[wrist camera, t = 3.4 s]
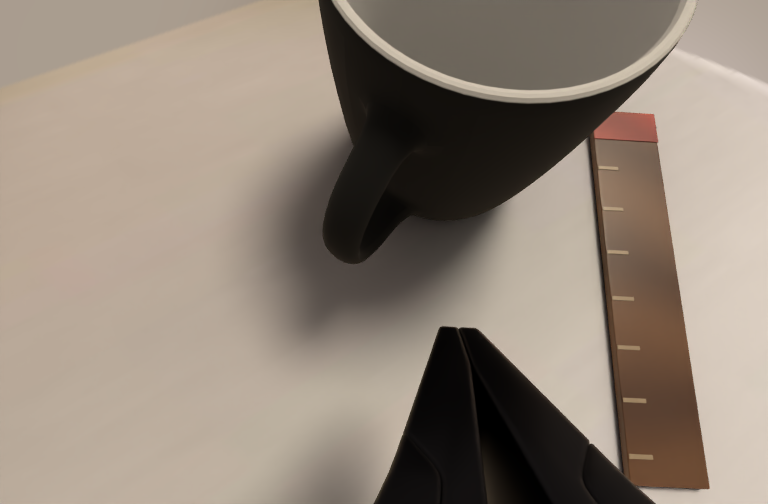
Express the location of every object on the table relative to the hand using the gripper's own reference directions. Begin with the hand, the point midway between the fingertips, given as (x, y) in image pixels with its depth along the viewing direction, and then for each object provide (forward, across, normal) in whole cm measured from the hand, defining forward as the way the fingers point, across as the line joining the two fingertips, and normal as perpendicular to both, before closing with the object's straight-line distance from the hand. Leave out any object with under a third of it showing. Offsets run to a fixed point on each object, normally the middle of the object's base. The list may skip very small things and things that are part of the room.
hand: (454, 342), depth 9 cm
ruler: (+8, -10, +3) cm, 13 cm away
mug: (+11, 0, 0) cm, 11 cm away
